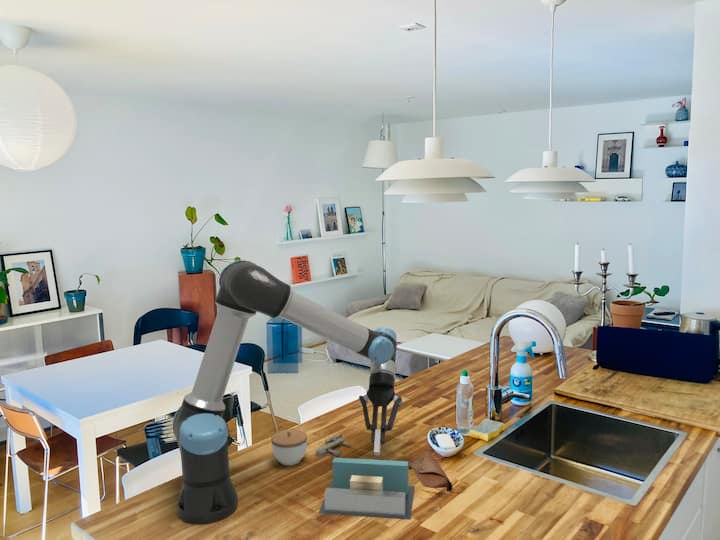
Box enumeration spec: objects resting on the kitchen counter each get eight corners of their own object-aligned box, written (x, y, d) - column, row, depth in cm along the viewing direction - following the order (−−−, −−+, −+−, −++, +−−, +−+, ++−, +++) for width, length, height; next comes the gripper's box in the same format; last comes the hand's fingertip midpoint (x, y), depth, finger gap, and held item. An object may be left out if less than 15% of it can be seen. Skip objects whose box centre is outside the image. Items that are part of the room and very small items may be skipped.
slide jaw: (333, 490, 155) (332, 461, 154) (335, 485, 157) (334, 457, 156) (407, 494, 152) (407, 465, 151) (408, 489, 154) (408, 461, 153)
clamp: (329, 455, 174) (306, 446, 181) (329, 462, 175) (306, 453, 181) (362, 438, 185) (339, 430, 192) (362, 445, 186) (339, 437, 192)
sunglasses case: (404, 464, 171) (415, 444, 171) (423, 473, 173) (434, 453, 173) (423, 495, 154) (435, 473, 154) (444, 504, 156) (456, 483, 155)
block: (350, 506, 147) (349, 481, 146) (352, 500, 150) (351, 475, 149) (381, 508, 146) (381, 482, 145) (383, 502, 149) (382, 476, 148)
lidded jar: (314, 456, 178) (313, 427, 177) (296, 472, 168) (295, 441, 167) (284, 450, 182) (283, 422, 181) (265, 465, 173) (263, 435, 171)
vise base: (318, 517, 144) (317, 494, 144) (331, 485, 160) (330, 464, 159) (410, 524, 141) (410, 500, 140) (414, 490, 156) (414, 468, 156)
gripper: (404, 382, 177) (401, 459, 163) (362, 381, 179) (355, 457, 165) (402, 371, 171) (399, 450, 157) (359, 370, 173) (352, 448, 159)
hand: (376, 453), depth 161 cm, fingers closed
